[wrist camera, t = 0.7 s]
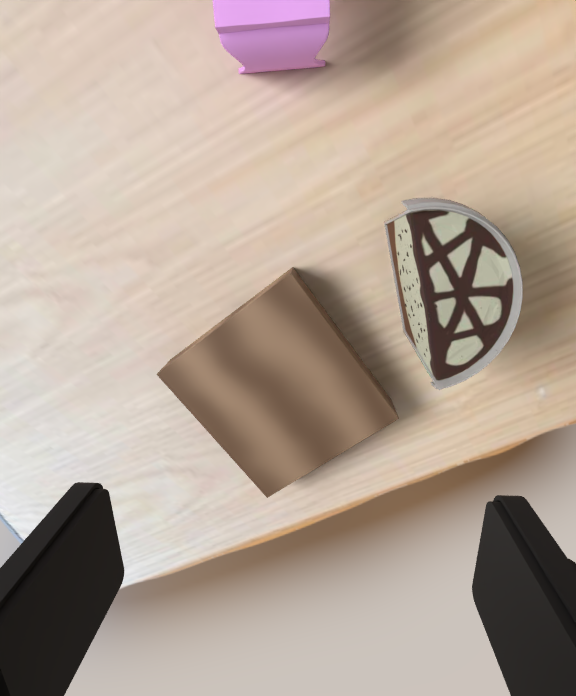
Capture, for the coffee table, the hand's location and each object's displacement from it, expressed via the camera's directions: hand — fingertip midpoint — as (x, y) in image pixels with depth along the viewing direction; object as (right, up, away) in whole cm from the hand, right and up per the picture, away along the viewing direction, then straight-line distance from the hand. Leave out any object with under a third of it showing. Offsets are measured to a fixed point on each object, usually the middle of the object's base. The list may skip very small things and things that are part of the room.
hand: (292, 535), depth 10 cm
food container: (+12, +11, +24) cm, 29 cm away
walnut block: (-1, +2, +28) cm, 28 cm away
